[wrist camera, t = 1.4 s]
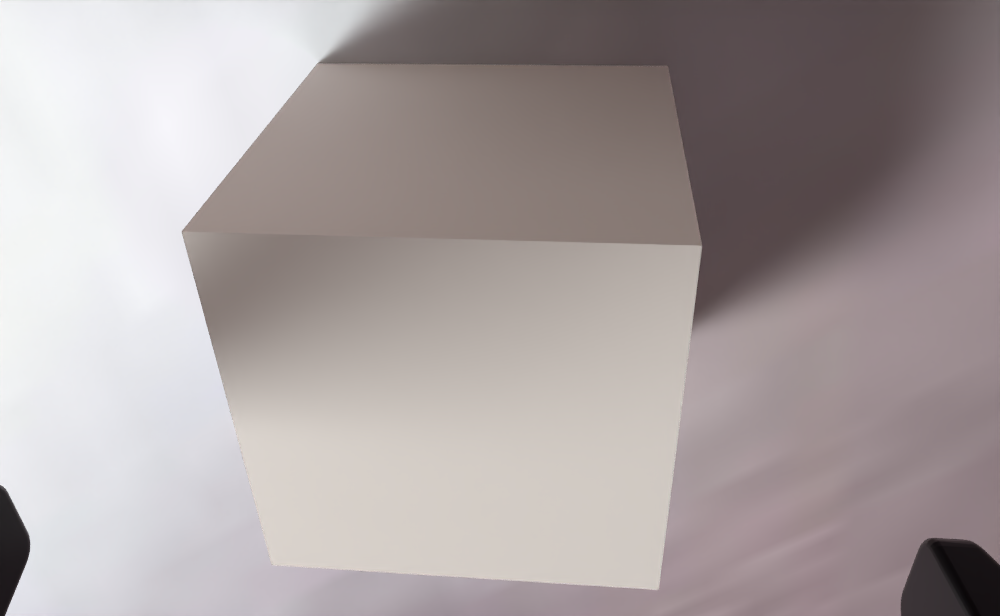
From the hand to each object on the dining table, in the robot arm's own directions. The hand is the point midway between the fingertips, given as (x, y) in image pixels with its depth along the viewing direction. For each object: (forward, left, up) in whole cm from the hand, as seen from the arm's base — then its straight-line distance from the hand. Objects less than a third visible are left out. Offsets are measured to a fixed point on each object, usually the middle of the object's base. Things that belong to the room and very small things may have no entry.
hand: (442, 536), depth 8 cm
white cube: (0, 0, -6) cm, 6 cm away
